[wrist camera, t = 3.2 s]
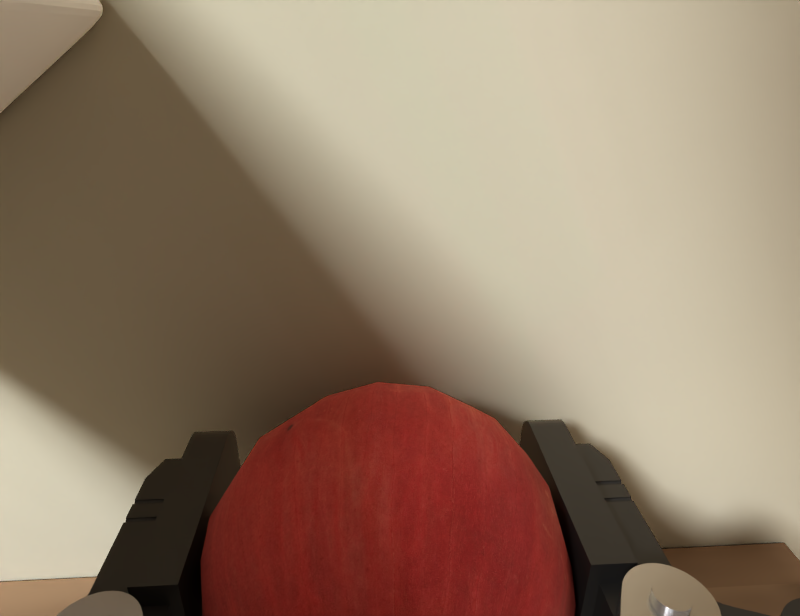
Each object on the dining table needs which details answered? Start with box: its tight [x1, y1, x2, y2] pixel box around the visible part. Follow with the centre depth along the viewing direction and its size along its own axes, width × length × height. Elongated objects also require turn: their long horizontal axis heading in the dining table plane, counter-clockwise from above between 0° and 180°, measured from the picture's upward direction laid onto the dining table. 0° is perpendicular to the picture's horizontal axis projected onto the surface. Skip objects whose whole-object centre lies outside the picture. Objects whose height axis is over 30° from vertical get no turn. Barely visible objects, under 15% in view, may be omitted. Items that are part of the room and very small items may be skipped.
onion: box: [200, 382, 576, 616], centre depth 9 cm, size 6×6×8 cm
